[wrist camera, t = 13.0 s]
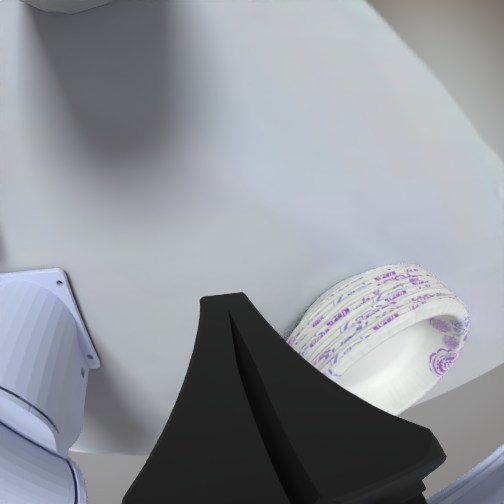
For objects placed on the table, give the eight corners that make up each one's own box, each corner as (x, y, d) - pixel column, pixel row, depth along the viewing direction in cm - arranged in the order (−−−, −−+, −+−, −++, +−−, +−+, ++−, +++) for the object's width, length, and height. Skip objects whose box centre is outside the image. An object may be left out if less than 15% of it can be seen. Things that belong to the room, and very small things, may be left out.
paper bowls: (430, 308, 29) (475, 359, 22) (314, 391, 31) (342, 452, 24) (393, 200, 21) (470, 258, 14) (225, 325, 23) (249, 417, 16)
